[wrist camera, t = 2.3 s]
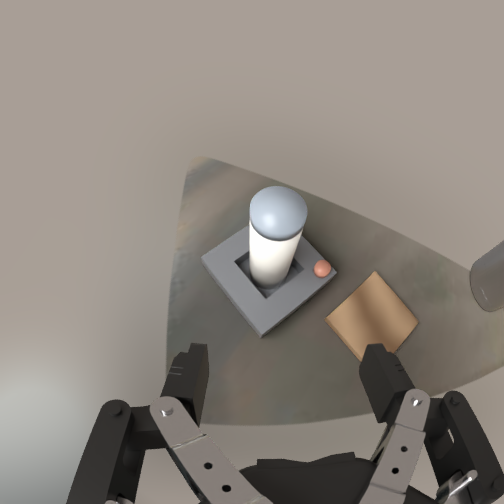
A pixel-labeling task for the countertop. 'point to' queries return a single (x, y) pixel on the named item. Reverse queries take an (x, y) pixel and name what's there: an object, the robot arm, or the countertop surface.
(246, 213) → the countertop surface
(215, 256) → the block
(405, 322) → the pad
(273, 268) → the ball
